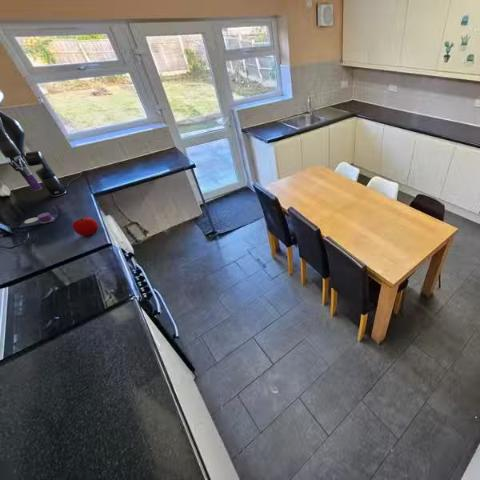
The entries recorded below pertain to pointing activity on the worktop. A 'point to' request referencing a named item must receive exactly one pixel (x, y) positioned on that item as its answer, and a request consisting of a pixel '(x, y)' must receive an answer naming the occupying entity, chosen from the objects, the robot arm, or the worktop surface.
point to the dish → (45, 217)
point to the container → (31, 179)
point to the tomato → (85, 226)
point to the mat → (36, 221)
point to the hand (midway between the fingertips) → (27, 174)
